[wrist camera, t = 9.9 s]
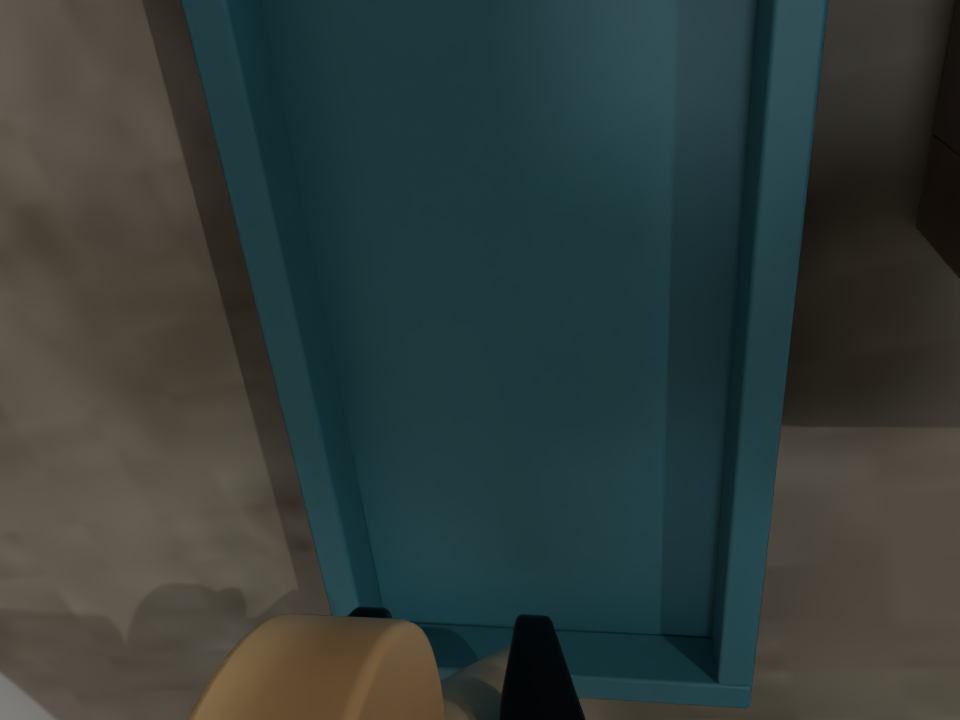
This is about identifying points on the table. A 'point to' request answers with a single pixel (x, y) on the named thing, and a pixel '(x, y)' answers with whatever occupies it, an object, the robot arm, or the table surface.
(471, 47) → the tray
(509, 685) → the robot arm
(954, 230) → the slotted brown holder
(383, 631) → the tan round-headed peg
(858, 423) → the table surface
